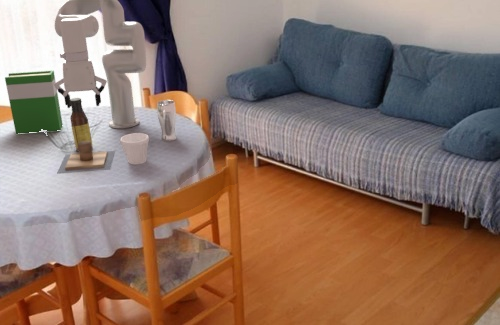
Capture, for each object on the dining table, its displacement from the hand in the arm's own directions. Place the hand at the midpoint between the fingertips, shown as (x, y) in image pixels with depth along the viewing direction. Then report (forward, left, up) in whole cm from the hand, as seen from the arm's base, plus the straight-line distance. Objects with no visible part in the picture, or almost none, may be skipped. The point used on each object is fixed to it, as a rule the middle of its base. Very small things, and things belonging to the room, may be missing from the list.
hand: (83, 106), depth 199 cm
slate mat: (0, -2, -21) cm, 21 cm away
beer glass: (-19, +27, -21) cm, 39 cm away
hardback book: (-42, -27, -21) cm, 54 cm away
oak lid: (0, -2, -21) cm, 21 cm away
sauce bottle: (-14, -5, -21) cm, 26 cm away
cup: (+3, +16, -21) cm, 27 cm away
